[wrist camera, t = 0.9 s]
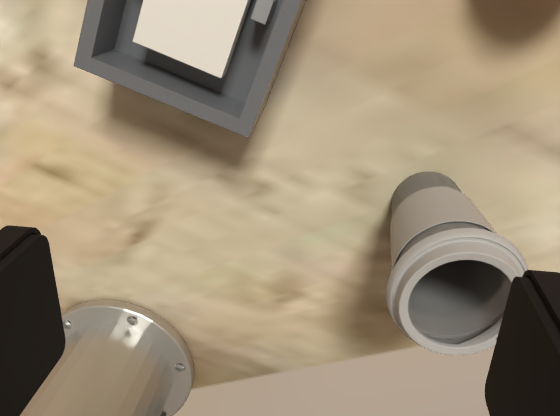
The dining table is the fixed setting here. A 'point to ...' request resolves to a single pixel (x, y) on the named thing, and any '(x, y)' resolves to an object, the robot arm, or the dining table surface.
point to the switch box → (182, 77)
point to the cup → (447, 268)
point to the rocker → (193, 30)
